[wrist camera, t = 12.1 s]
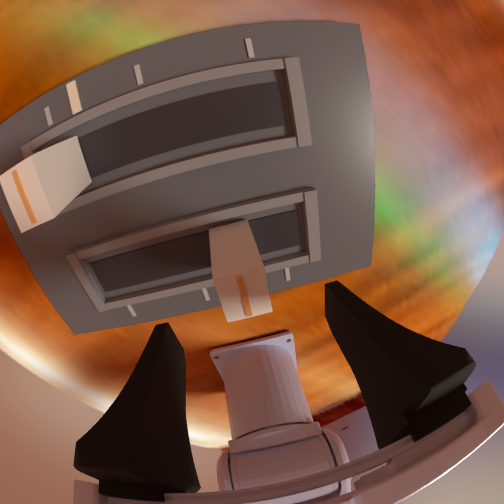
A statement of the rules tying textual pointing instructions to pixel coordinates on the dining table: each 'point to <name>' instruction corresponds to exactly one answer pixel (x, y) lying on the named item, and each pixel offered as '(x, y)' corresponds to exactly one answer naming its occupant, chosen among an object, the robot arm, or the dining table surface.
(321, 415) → the dining table surface
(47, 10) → the dining table surface
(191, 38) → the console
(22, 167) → the fader
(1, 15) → the dining table surface
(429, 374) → the robot arm
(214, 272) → the fader
